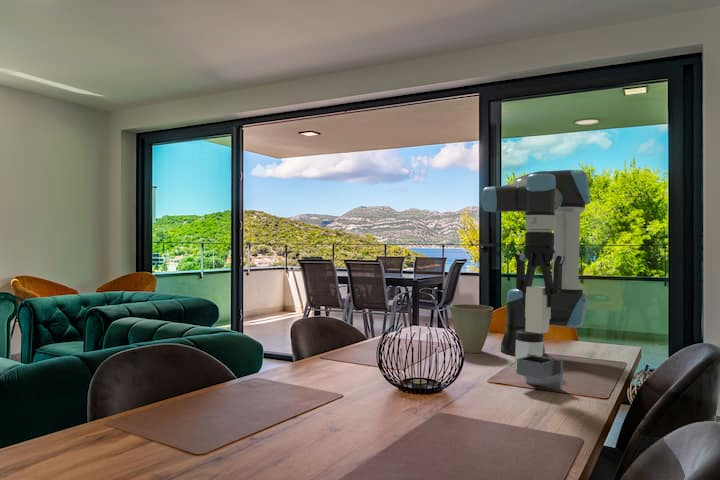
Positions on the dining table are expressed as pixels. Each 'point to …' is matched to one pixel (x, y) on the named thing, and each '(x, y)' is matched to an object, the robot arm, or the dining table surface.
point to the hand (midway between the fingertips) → (537, 317)
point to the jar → (528, 344)
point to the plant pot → (471, 325)
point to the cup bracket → (541, 371)
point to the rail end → (535, 310)
